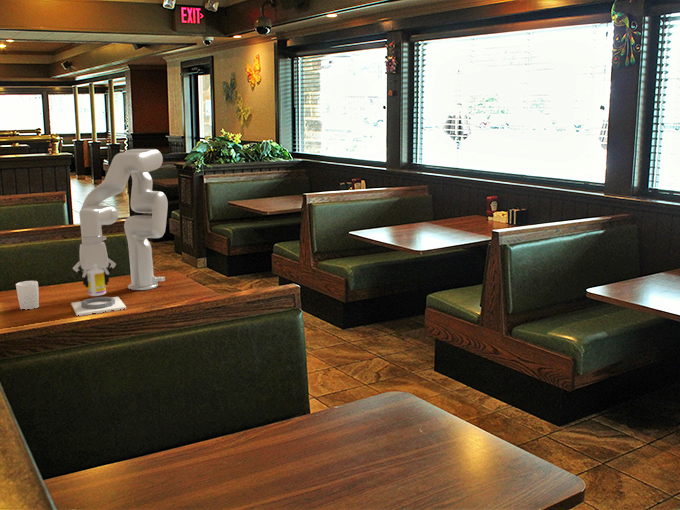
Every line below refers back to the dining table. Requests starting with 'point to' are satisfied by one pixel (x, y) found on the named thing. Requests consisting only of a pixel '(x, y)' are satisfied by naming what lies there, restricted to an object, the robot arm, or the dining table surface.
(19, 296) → the white cup
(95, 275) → the supplement bottle
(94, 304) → the mount board
